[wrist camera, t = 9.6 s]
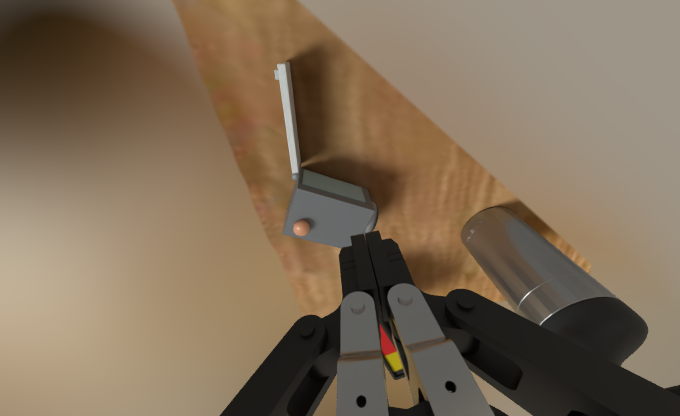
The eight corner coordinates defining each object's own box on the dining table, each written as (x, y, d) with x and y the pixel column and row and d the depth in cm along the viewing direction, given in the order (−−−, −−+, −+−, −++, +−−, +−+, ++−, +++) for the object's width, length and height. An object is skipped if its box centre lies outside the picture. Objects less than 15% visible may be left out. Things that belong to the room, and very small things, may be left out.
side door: (278, 62, 27) (272, 64, 23) (290, 62, 27) (285, 64, 23) (292, 165, 33) (289, 180, 29) (302, 164, 33) (299, 180, 29)
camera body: (376, 190, 36) (387, 216, 31) (357, 227, 40) (364, 257, 34) (300, 166, 33) (297, 190, 28) (287, 209, 37) (281, 238, 31)
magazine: (390, 319, 51) (394, 383, 37) (357, 266, 50) (347, 310, 36) (407, 312, 50) (417, 374, 36) (373, 258, 49) (370, 299, 35)
